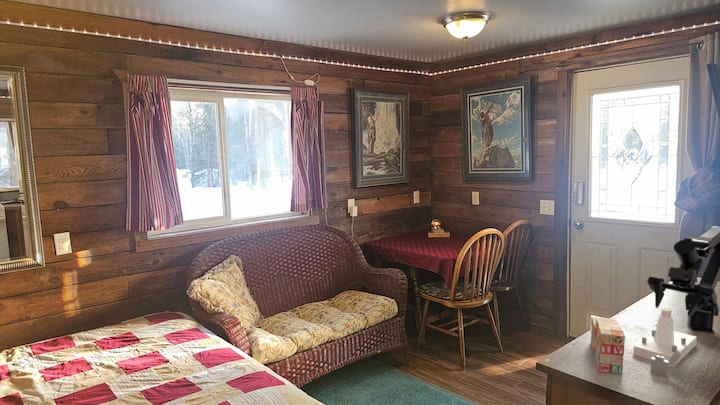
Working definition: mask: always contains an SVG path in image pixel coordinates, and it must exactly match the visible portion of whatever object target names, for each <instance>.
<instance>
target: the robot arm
mask: <svg viewBox="0 0 720 405" xmlns="http://www.w3.org/2000/svg"><path fill="white" fill-rule="evenodd" d="M673 250H674V252H675V254H676V257H677V258H678V261H679V262H680V264H679V267H673V266H670V267H669V270H668V274H667V277H668V278H670V279H669V280H670V282H671V283H669V282H665V280H664V278H663V277H660V276H656V275H651V276H649V277H648V278H647V280H646V283H647V284H648V286H649V287H650V289H651V290H652V291H653V292H654V295H655V296H654V297H655V298H654V299H655V301H654V302H655V303H654V304H655V305H654V306H655V308H656V309H658V308H659V307H660V305H661V303H662V301H663V298H664V296H665V291H666V290H671V291H675V292H679V293H685V298H684V304H685V310H686V311H687V325H688V327H689V329H691V330H692V331H694V332H695V331H696V332H702V333H703V332H704V333H715V330H714V329H713V328H714V318H715V317H719V313H720V306H719V303H718V294H717V293H716V291H715V289H716V287H717V285H718V282H719V280H720V226H717V225H713V226H710V228H709V230H707V231H706V232H704V233H703V234H702V235H700V236H695V237H694V236H693V237H684V239H681V240H678V241H677V242H676V243H674V245H673ZM702 258H705V259H708V258H709V260H708V262H707V264H706V267H705V269H704V271H703V274H702V275H701V279H700V281H699V283H698V280H699V279H698V277H699V275H700V272H701V270H702V269H703V268H704V261H703V259H702ZM697 283H698V284H697Z"/></svg>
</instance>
